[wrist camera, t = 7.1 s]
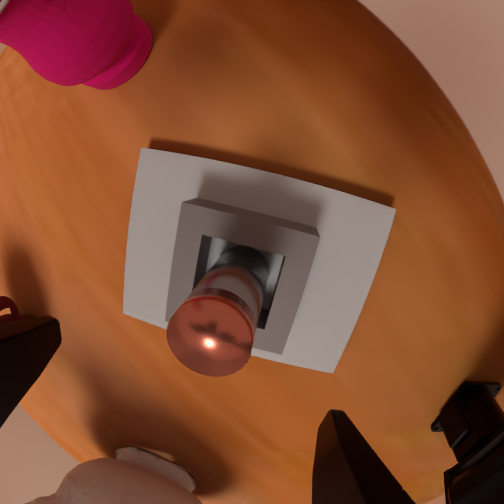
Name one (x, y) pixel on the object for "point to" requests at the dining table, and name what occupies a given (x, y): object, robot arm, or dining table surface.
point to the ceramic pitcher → (125, 482)
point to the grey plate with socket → (260, 238)
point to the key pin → (221, 314)
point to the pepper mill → (77, 39)
